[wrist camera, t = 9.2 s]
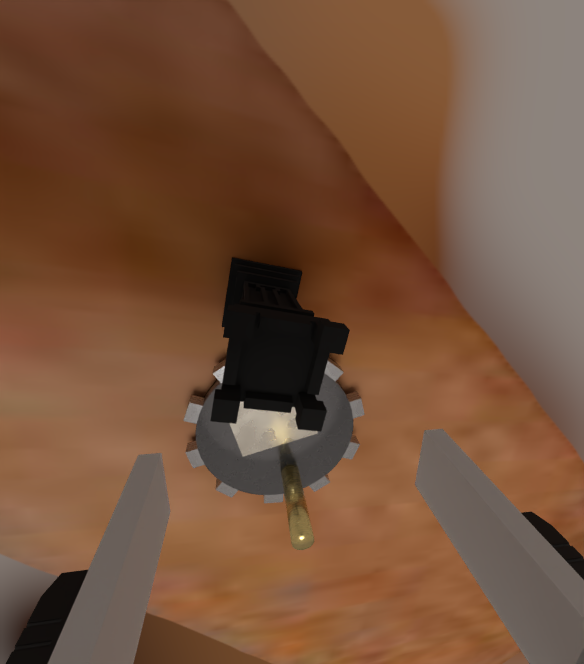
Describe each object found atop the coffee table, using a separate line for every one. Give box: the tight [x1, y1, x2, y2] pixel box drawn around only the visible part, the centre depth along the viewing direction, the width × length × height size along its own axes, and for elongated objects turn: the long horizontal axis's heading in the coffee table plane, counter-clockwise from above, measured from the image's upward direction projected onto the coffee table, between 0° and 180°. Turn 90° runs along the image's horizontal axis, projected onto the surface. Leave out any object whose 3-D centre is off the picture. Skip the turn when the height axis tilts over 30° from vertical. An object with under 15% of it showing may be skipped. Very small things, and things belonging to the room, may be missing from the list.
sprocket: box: [184, 358, 364, 550], centre depth 37 cm, size 23×23×12 cm
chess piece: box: [210, 257, 350, 432], centre depth 29 cm, size 8×8×20 cm
